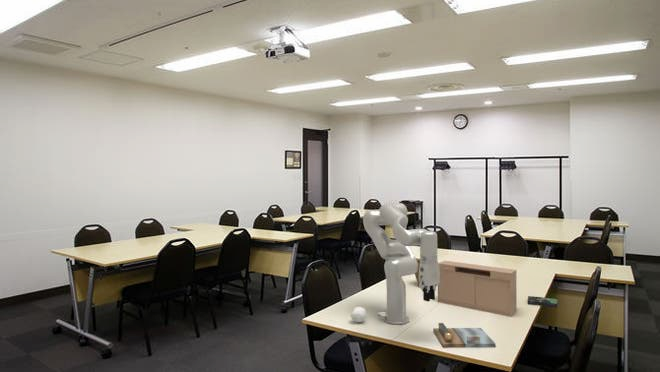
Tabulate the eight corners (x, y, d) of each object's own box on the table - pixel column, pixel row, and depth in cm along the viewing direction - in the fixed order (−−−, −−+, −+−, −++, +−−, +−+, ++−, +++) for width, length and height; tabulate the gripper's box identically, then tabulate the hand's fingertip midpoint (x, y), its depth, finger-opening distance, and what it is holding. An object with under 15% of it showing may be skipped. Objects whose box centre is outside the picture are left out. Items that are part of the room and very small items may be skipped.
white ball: (357, 318, 213) (357, 303, 213) (369, 321, 208) (369, 306, 208) (347, 322, 207) (347, 307, 206) (360, 326, 202) (360, 310, 202)
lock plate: (443, 347, 176) (443, 337, 176) (433, 331, 194) (433, 321, 194) (495, 347, 175) (495, 336, 175) (480, 331, 193) (480, 321, 193)
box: (510, 317, 211) (510, 273, 210) (437, 302, 237) (436, 263, 236) (516, 312, 219) (516, 269, 218) (444, 298, 244) (444, 260, 244)
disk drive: (527, 305, 231) (558, 308, 224) (527, 300, 231) (558, 303, 224) (527, 300, 240) (557, 303, 234) (527, 295, 240) (557, 298, 234)
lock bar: (452, 341, 177) (452, 334, 177) (445, 342, 177) (445, 334, 177) (443, 329, 192) (443, 322, 191) (437, 329, 192) (437, 322, 192)
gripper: (423, 263, 177) (424, 305, 178) (446, 257, 188) (447, 298, 188) (410, 260, 183) (410, 301, 184) (433, 255, 193) (433, 294, 194)
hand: (429, 299), depth 186 cm, fingers open, 2 cm apart
